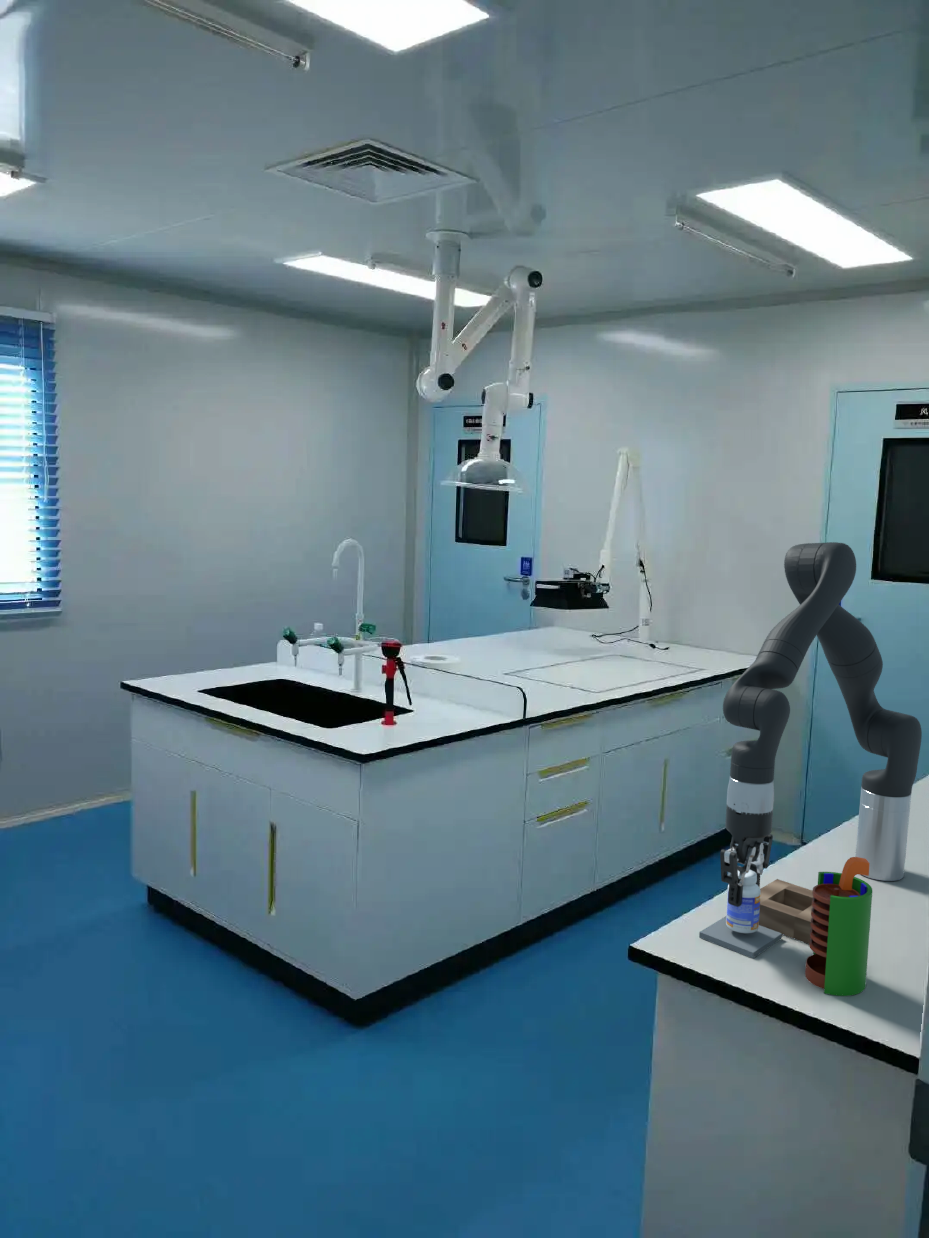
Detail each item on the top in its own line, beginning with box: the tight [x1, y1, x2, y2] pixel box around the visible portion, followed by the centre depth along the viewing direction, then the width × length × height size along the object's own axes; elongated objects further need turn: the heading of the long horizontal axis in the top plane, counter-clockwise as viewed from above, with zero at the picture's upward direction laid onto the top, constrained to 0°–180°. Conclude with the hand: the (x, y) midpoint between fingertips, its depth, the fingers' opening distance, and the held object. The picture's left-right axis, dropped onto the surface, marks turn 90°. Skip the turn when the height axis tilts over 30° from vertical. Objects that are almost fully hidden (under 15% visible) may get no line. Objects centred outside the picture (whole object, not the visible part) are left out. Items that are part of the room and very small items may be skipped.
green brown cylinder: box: [804, 856, 873, 997], centre depth 150 cm, size 10×9×20 cm
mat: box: [698, 916, 783, 959], centre depth 165 cm, size 10×10×1 cm
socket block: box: [759, 878, 814, 945], centre depth 172 cm, size 13×13×4 cm
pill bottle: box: [726, 870, 761, 933], centre depth 164 cm, size 5×5×10 cm
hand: (743, 899), depth 164 cm, fingers closed on pill bottle, 5 cm apart
